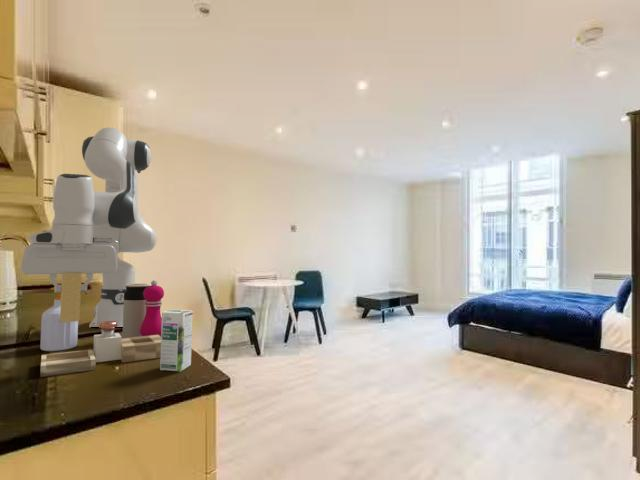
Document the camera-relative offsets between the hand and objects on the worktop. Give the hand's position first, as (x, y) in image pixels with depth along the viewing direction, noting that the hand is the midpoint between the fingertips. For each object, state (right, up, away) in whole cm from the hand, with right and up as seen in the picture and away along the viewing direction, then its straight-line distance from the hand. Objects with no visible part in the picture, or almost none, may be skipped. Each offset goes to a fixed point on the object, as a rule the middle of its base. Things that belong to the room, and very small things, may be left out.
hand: (70, 292), depth 96 cm
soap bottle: (-15, -19, +18) cm, 30 cm away
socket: (+12, -19, +12) cm, 26 cm away
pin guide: (+5, -19, +8) cm, 21 cm away
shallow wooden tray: (0, -19, 0) cm, 19 cm away
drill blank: (0, -7, 0) cm, 7 cm away
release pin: (+5, -19, +8) cm, 21 cm away
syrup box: (+26, -20, +1) cm, 33 cm away
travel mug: (+2, -20, +30) cm, 36 cm away
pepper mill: (+10, -20, +24) cm, 33 cm away
